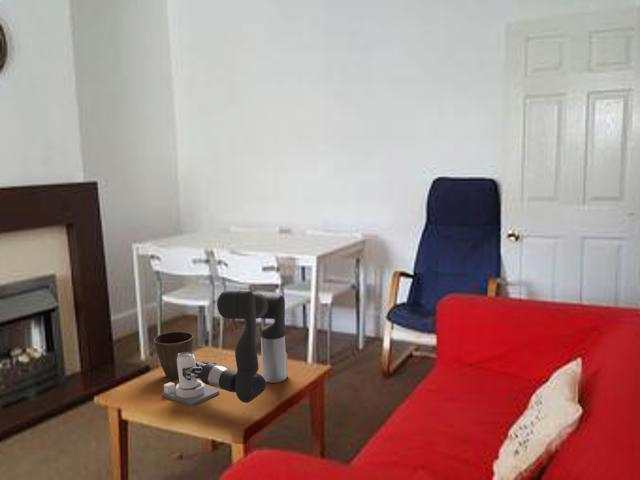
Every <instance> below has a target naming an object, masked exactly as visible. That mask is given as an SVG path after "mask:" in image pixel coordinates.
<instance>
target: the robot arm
mask: <svg viewBox="0 0 640 480" xmlns="http://www.w3.org/2000/svg"><path fill="white" fill-rule="evenodd" d="M216 307H217V312H218V313H219V315H220V316H221V317H222V318H223V319H225V320H226V319H227V320H244V322H245V323H244V325H245V326H244V330H243V332H242V334H241V336H240V338H239V340H238V342H237V343H236V347H235V349H234V357H235V363H236V369H237V371H236V370H234V369H233V370H232V369H230V368H227V367H226V366H222V365H220V364H217V362H215V361H214V362H213V361H205V360H202V361H201V362H200V361H197V362H196V367H195V366H192V367H189V368H187V369H189V370H190V372H189V371H188V370H187V369H185V368H183V369H182V373H183V374H182V376H183V377H185V378H186V379H187V380H191V378H192V377H195V378H197V379H198V380H199V379H200V381H202V382H203V383H204V384H205V385H207V386H210V387H212V388H214V389H220V390H224V391H227V392H229V393H235V394H236V397H237V398H238V399H239V401H241V402H242V403H245V404H248V403H251V402H252V401H254V400H255V399H256V398H257V397H259V396H260V395H261V394H262V393H264V392H265V390H267V389H266V388H267V383H269V384H270V383H273V384H274V383H276V384H277V383H280V382H283V381H285V380H286V379H287V377H289V370H288V352H286V331H285V329H286V325H285V324H286V321H285V320H286V319H285V318H286V316H285V315H286V302H285V297H284V296H283V295H282V294H269V293H268V294H263V293H260V292H254V291H252V290H250V289H226V290H223V291H222V292H221V293H220V294H219V295H218V298H217V301H216ZM257 319H264V320H268V319H269V320H272V319H274V322H273V323H271V324H269V325H265V326H263V327H261V329H260V345H261V346H260V348H261V349H260V350H261V351H260V352H261V372H262V373H261V374H260V373H258V371H259V366H260V365H259V359H258V351H257V341H256V340H257Z"/></svg>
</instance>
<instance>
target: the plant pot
mask: <svg viewBox="0 0 640 480" xmlns="http://www.w3.org/2000/svg"><path fill="white" fill-rule="evenodd" d="M193 341H194V334H193V333H190V332H188V331H171V332H165V333H163V334H162V333H161V334H159V335H157V336H155V337H154V339H153V342H154V346H155V351H156V354H157V357H158V360H159V363H160V366H161V368H162V371H163V372H164V374H165V376H166V378H167V379H168V380H171V381H172V380H173V381H174V380H175V381H176V380H179V375H178V367H177V358H178V356H177V355H178V354H180V353H184V352H193Z"/></svg>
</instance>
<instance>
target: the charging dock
mask: <svg viewBox="0 0 640 480" xmlns="http://www.w3.org/2000/svg"><path fill="white" fill-rule="evenodd" d="M197 380H198V385H197V386H196V387H194V388H191V389H182V388H180V384H179V383H177V384H175V383H174V382H171V381H170V382H169V381H168V383H165V384H163V392H162V393H161V395H162V397H164V398H167V399H169V400H173V401H175V402H178V403H181V404H184V405H186V406H189V407H193V406H196V405H199V404H201V403H203V402H205V401H207V400H209V399H211V398H213V397H216V396H218V395H220V390H217V389H216V388H211V387H207V386H206V384H204V383H203V382H202V381H201V380H199V379H197Z"/></svg>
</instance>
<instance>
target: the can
mask: <svg viewBox="0 0 640 480" xmlns="http://www.w3.org/2000/svg"><path fill="white" fill-rule="evenodd" d="M177 356H178V358H177V367H178V375H179V379H178V384H180V388H182V389H191V388H194V387H196V386H197V385H198V380H199V379H198V378H195V377H192V378H191V380H187V379H186V378H185V377H183V376H182V374H183V373H182V369H183V368H185V369H187V368H189V367H192V366H195V367H196V363H197V362H196V358H195V355H194V352H193V351H192V352H184V353H180V354H178V355H177ZM187 370H188V371H189V372H190V370H189V369H187Z"/></svg>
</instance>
